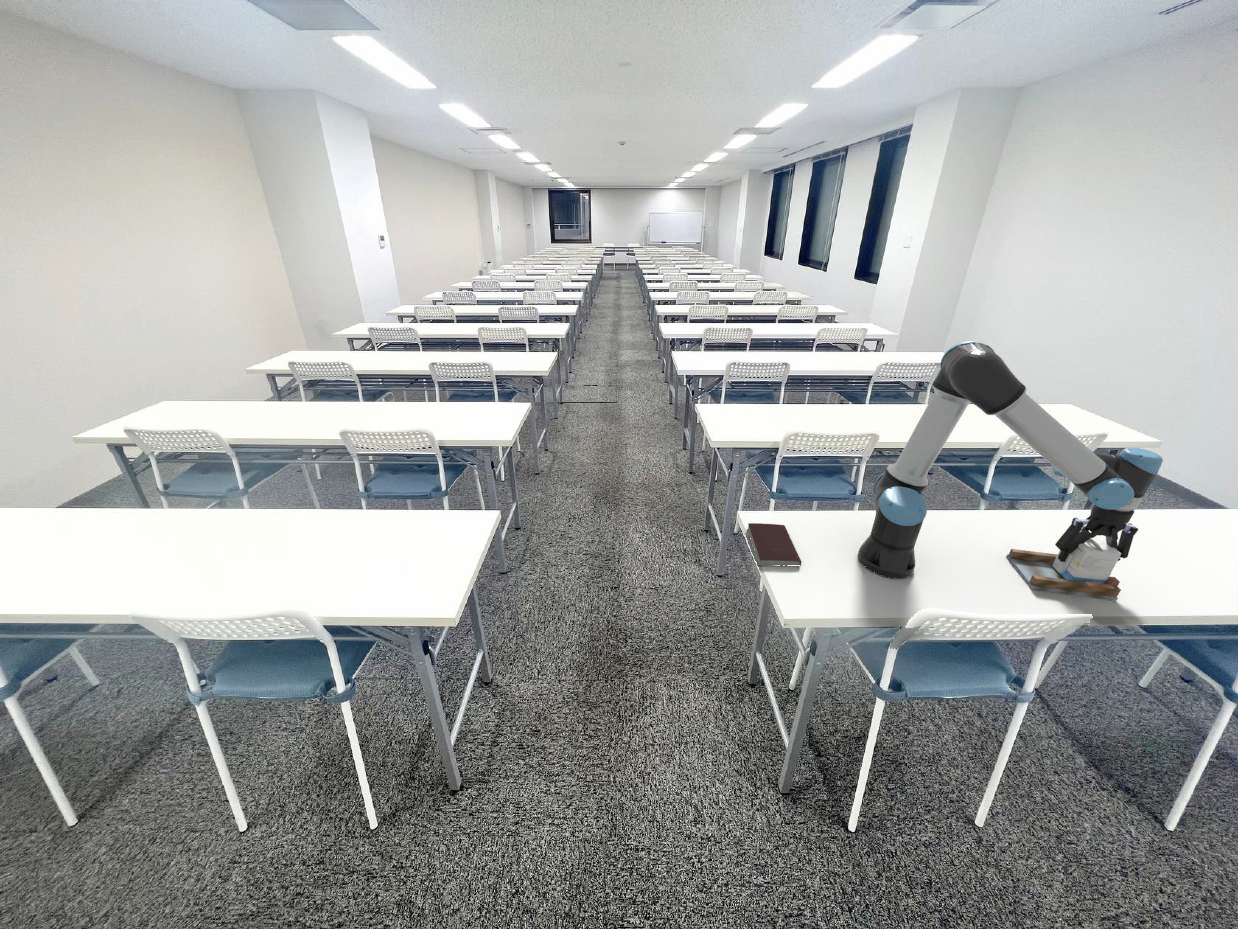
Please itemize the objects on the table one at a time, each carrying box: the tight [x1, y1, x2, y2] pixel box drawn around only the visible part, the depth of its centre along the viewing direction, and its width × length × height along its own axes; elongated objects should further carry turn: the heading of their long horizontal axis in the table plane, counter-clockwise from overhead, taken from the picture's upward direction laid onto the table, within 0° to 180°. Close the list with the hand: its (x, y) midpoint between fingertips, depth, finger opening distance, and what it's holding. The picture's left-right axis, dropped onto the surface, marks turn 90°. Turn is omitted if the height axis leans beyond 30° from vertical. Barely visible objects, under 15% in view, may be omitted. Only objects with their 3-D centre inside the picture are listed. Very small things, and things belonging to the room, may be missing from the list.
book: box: [746, 522, 802, 567], centre depth 151 cm, size 12×19×3 cm, turn 177°
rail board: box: [1005, 548, 1122, 601], centre depth 137 cm, size 20×15×5 cm
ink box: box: [1052, 530, 1121, 584], centre depth 133 cm, size 9×8×13 cm
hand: (1078, 572), depth 136 cm, fingers closed on ink box, 8 cm apart
